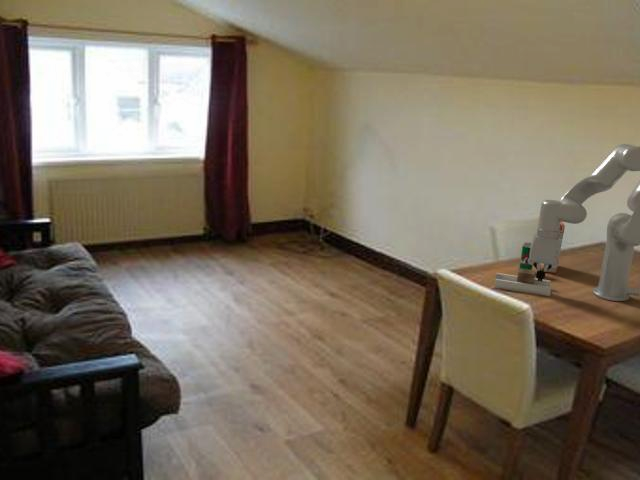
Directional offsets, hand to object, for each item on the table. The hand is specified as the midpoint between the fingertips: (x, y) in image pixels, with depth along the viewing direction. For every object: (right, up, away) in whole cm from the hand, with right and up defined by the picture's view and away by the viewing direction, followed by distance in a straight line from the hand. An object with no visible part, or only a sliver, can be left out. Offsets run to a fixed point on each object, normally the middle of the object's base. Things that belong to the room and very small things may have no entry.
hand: (539, 280), depth 233 cm
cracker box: (+14, +3, +29) cm, 33 cm away
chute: (-6, -3, +3) cm, 7 cm away
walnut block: (-5, -3, +3) cm, 7 cm away
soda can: (+2, +2, +23) cm, 23 cm away
